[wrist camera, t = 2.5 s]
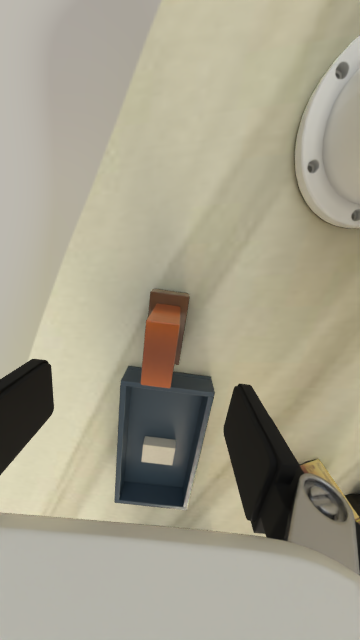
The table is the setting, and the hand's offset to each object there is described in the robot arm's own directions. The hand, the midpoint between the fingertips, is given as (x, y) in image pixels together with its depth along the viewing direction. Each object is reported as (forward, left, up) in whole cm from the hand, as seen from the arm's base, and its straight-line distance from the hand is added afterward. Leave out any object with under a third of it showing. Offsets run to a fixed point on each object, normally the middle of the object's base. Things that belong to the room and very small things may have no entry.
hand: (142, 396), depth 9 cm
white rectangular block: (+17, +1, -10) cm, 20 cm away
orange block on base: (0, 0, -11) cm, 11 cm away
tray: (+15, +1, -11) cm, 19 cm away
